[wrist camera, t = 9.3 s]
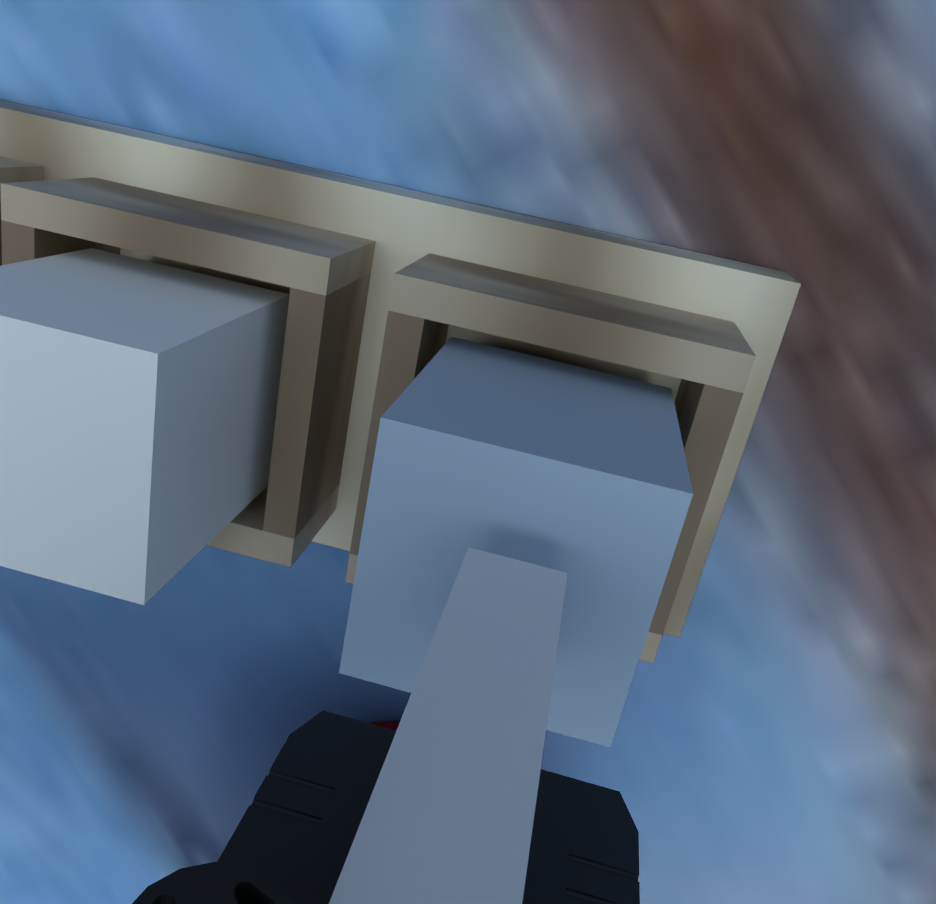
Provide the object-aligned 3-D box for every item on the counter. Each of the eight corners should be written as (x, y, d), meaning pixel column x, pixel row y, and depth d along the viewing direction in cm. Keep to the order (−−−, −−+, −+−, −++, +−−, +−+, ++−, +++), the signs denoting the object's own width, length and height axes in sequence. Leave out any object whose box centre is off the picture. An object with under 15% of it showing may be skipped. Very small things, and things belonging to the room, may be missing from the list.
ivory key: (87, 438, 22) (-96, 539, 16) (91, 248, 20) (-113, 287, 14) (268, 485, 21) (144, 605, 16) (289, 294, 19) (158, 353, 14)
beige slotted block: (-164, 385, 28) (-341, 439, 22) (-195, 56, 24) (-416, 32, 19) (675, 601, 25) (689, 717, 20) (785, 271, 21) (836, 311, 16)
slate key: (414, 530, 21) (338, 673, 15) (451, 336, 19) (380, 417, 13) (613, 581, 20) (610, 747, 15) (671, 387, 18) (693, 494, 13)
